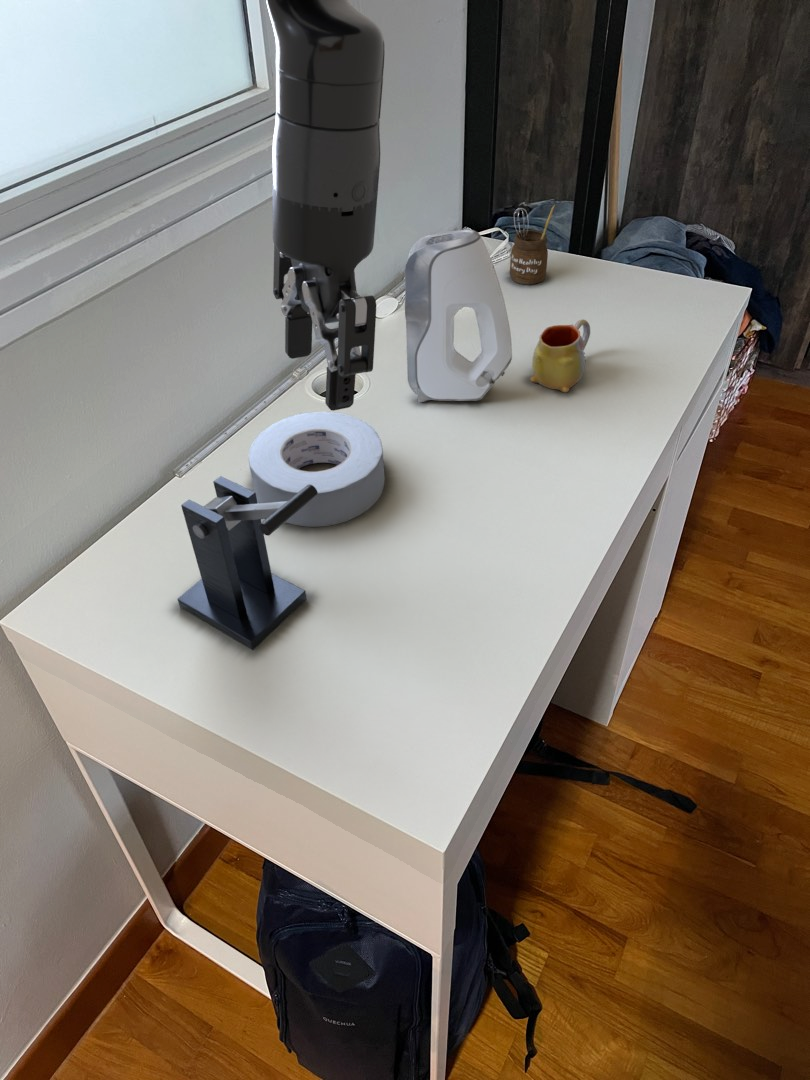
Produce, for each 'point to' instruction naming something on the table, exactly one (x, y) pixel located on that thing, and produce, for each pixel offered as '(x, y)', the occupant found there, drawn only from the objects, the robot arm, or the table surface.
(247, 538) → the switch bracket
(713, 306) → the table surface
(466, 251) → the jug
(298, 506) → the switch lever
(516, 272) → the utensil holder
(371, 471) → the tape roll
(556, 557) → the table surface
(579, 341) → the mug
